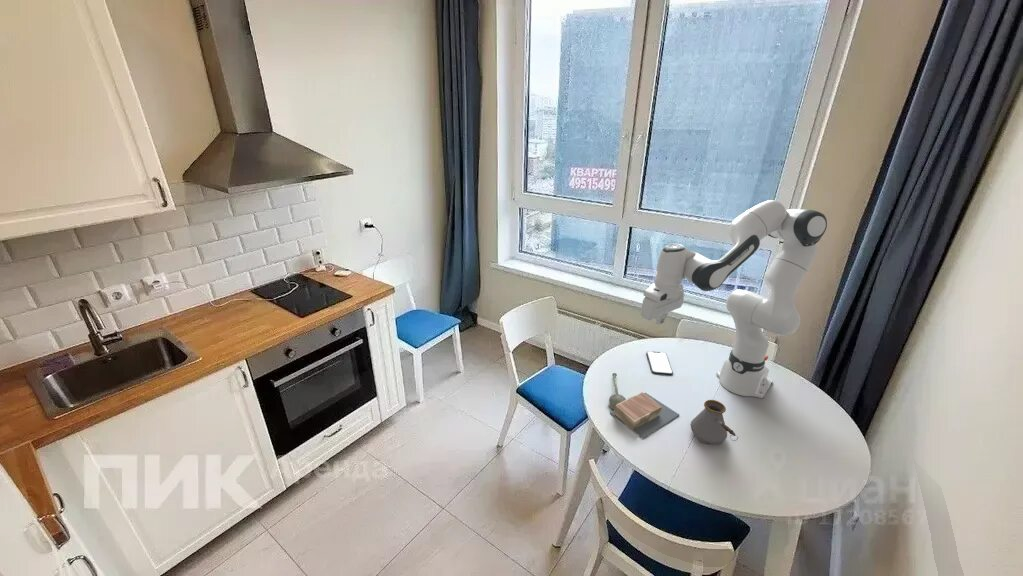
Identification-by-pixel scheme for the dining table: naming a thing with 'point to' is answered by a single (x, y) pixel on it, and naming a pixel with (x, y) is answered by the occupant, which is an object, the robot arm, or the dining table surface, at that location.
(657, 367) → the smartphone
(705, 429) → the coffee pot
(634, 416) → the brown wooden block
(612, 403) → the soupspoon
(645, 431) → the charcoal rubber mat
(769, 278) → the robot arm
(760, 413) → the dining table surface
